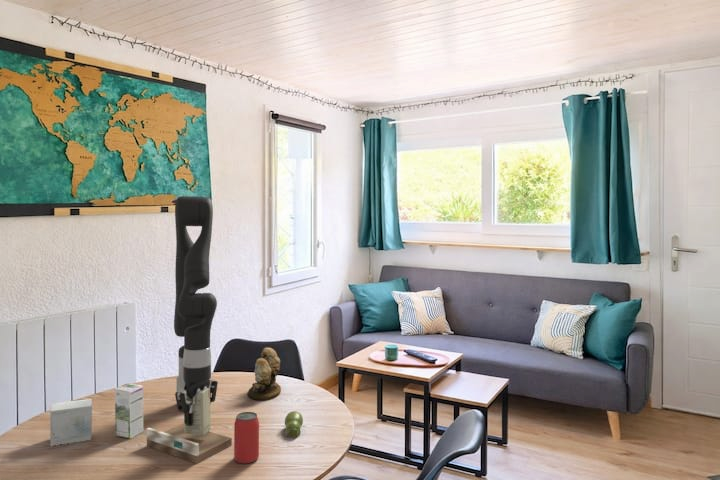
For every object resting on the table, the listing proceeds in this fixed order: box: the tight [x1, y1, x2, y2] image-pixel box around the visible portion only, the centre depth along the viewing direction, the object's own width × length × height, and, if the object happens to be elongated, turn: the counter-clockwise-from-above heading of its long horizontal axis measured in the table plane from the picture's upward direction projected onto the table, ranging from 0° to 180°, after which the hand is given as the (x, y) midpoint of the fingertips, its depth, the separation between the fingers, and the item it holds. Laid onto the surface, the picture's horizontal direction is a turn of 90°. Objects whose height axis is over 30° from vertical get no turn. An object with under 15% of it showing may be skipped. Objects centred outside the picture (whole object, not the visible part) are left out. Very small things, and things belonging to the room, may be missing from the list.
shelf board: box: [146, 423, 232, 464], centre depth 147 cm, size 20×13×5 cm, turn 60°
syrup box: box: [114, 383, 145, 439], centre depth 154 cm, size 6×6×14 cm
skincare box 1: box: [49, 398, 93, 447], centre depth 150 cm, size 10×6×10 cm, turn 117°
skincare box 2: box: [183, 388, 212, 435], centre depth 147 cm, size 6×4×12 cm
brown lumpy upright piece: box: [247, 347, 282, 402], centre depth 193 cm, size 18×12×17 cm, turn 2°
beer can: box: [233, 411, 260, 465], centre depth 140 cm, size 7×7×12 cm
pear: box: [284, 410, 304, 438], centre depth 158 cm, size 6×5×10 cm
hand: (197, 421), depth 147 cm, fingers closed on skincare box 2, 5 cm apart
